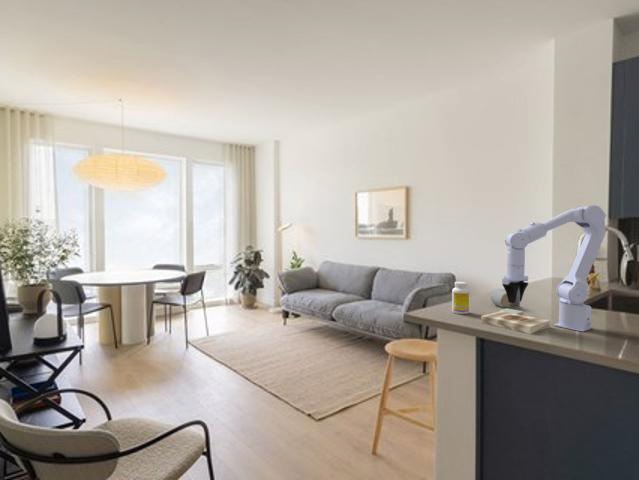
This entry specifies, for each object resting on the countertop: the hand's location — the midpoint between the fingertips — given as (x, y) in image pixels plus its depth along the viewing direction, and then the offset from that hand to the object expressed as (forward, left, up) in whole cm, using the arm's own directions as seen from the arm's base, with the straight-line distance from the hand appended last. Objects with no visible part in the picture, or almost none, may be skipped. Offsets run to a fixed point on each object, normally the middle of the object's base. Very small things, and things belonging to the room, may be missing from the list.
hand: (514, 301), depth 138 cm
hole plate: (0, 0, -9) cm, 9 cm away
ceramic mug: (+18, -27, -9) cm, 34 cm away
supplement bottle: (+23, 0, -9) cm, 25 cm away
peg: (0, 0, -1) cm, 1 cm away
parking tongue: (+8, -12, -9) cm, 17 cm away
